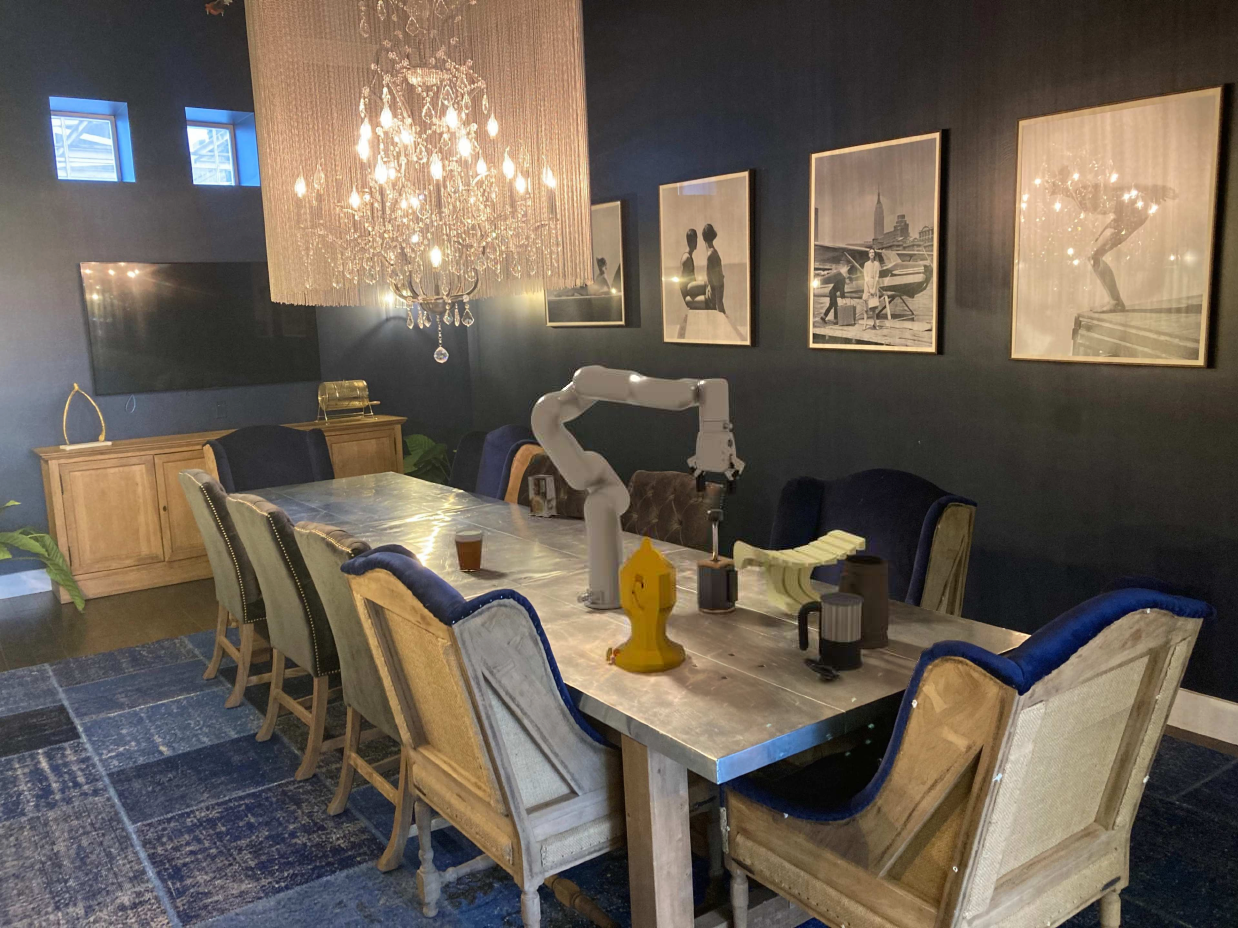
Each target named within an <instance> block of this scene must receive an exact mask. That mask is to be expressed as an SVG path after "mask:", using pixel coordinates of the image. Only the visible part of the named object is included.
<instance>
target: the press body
mask: <svg viewBox="0 0 1238 928" xmlns="http://www.w3.org/2000/svg"><path fill="white" fill-rule="evenodd" d="M703 566H705V567H703ZM725 566H727V567H725ZM709 567H711V568H709ZM723 567H724V568H723ZM738 572H739V571H738V570H736V567H735V565H734V559H732V558H726V557H720V556H718V562H713V555H712V556H710V557H707V558H704V559H700V560H698V561H696V600H697V601H696V602H697V610H698V611H699V612H700V613H703V614H708V615H725V614H730V613H732V611H733V612H734V611H735V610H736V609H735V608H736V602H738V601H739V576H738V575H739V573H738Z"/></svg>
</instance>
